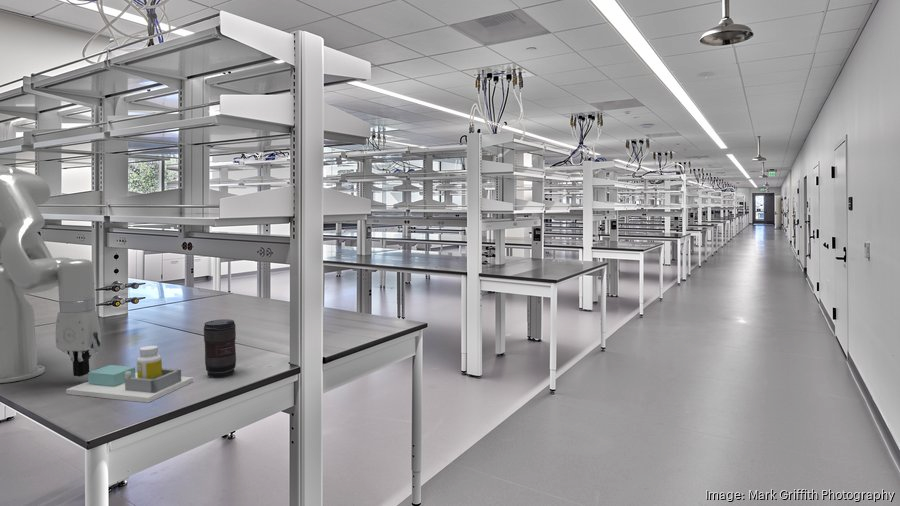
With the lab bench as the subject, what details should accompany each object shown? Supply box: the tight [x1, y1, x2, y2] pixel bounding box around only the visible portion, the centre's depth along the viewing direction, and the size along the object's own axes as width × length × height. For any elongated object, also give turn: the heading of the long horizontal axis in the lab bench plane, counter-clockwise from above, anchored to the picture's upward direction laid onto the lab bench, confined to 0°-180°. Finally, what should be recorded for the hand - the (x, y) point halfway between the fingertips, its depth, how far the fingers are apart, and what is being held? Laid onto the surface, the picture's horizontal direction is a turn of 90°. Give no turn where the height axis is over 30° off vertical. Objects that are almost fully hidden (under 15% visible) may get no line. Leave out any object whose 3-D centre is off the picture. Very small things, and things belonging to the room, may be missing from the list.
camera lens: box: [203, 318, 237, 379], centre depth 140 cm, size 8×8×15 cm
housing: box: [87, 364, 136, 386], centre depth 131 cm, size 8×6×3 cm
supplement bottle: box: [136, 345, 163, 379], centre depth 128 cm, size 5×5×10 cm
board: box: [65, 367, 194, 404], centre depth 129 cm, size 24×15×6 cm, turn 78°
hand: (81, 374), depth 133 cm, fingers closed
